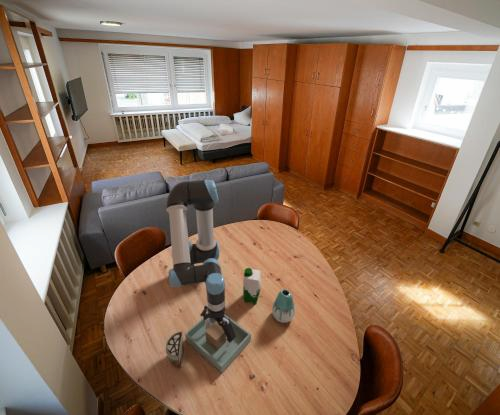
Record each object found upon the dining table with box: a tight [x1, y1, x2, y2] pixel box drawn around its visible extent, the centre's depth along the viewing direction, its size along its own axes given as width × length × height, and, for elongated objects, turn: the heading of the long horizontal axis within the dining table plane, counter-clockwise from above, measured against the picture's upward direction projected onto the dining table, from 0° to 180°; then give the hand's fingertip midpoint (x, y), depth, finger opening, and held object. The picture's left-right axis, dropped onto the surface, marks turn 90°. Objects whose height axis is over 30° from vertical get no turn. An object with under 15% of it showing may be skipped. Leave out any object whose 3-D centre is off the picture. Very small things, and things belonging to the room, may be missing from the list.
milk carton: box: [242, 267, 262, 305], centre depth 143 cm, size 9×9×20 cm
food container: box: [165, 331, 185, 369], centre depth 116 cm, size 12×6×10 cm, turn 5°
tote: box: [184, 313, 252, 374], centre depth 125 cm, size 24×20×5 cm
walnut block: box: [205, 321, 227, 351], centre depth 124 cm, size 9×7×8 cm
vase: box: [271, 288, 296, 324], centre depth 134 cm, size 12×12×18 cm
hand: (218, 336), depth 124 cm, fingers open, 13 cm apart
